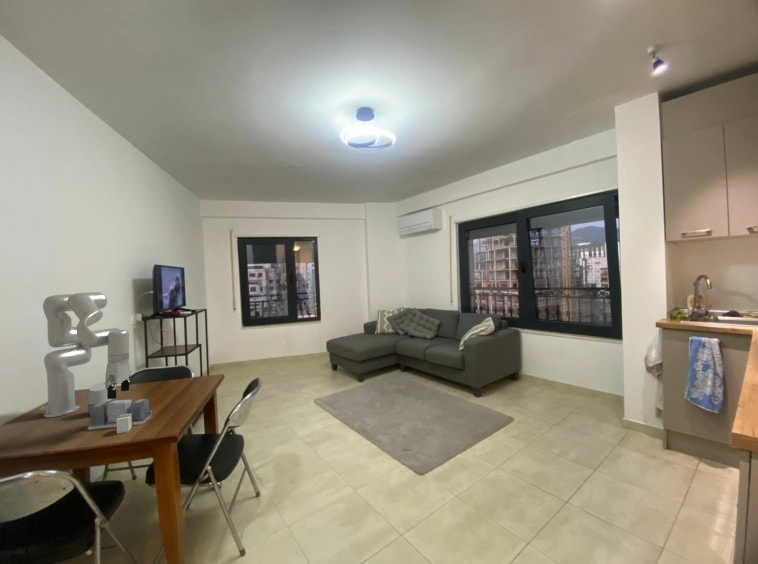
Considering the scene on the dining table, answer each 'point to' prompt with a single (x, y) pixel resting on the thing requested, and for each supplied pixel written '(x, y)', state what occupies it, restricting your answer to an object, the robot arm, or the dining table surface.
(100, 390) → the smart speaker
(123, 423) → the block
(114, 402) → the medicine box
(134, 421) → the rail
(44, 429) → the dining table surface
